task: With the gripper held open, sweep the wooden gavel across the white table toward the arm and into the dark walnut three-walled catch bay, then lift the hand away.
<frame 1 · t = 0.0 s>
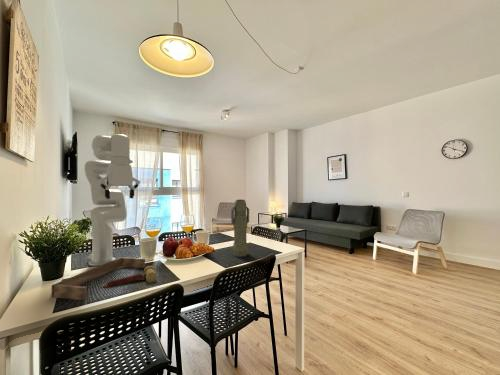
hand: (120, 198, 100), 37 cm above the table, tool pointing down, fingers open, 9 cm apart
gavel: (130, 283, 97), on the table
tall olive-grey vase: (240, 255, 138), on the table
catch bay: (107, 279, 99), on the table
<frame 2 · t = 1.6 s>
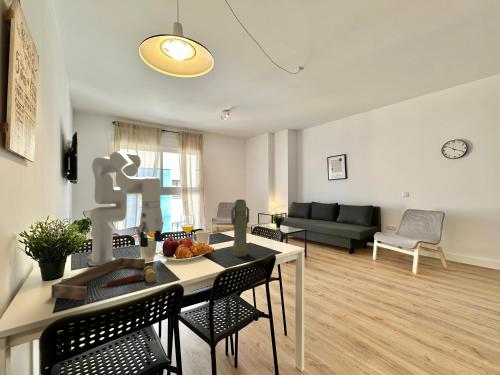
hand: (151, 243, 96), 17 cm above the table, tool pointing down, fingers open, 9 cm apart
nothing on the table moved.
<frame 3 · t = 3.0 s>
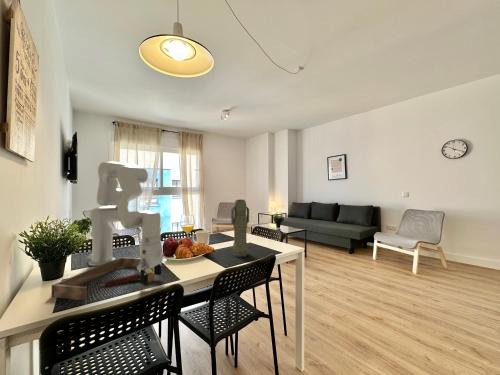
hand: (151, 278, 96), 2 cm above the table, tool pointing down, fingers open, 9 cm apart
nothing on the table moved.
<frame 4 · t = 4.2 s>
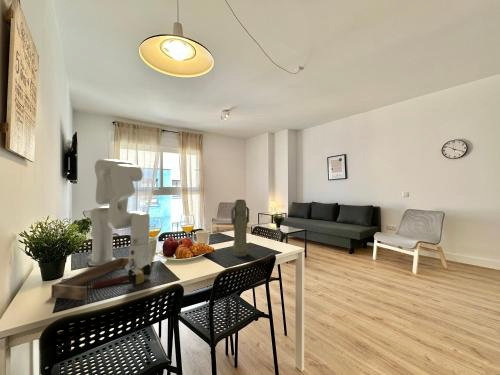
hand: (140, 278, 97), 2 cm above the table, tool pointing down, fingers open, 9 cm apart
gavel: (117, 284, 96), on the table
everything else where it was.
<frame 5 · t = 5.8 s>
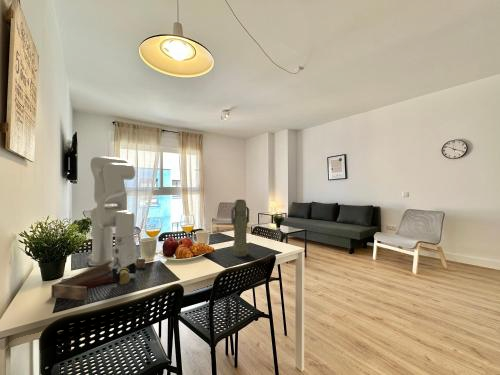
hand: (124, 277, 98), 2 cm above the table, tool pointing down, fingers open, 9 cm apart
gavel: (102, 285, 95), on the table
everything else where it was.
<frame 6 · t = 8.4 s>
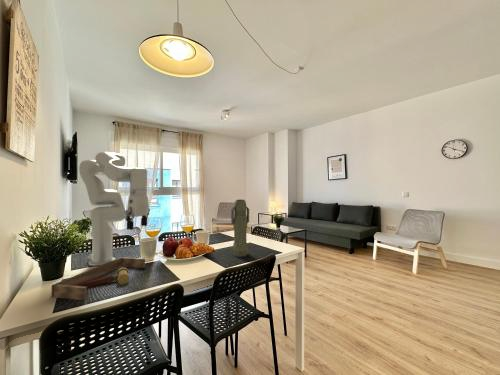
hand: (137, 227, 107), 23 cm above the table, tool pointing down, fingers open, 9 cm apart
nothing on the table moved.
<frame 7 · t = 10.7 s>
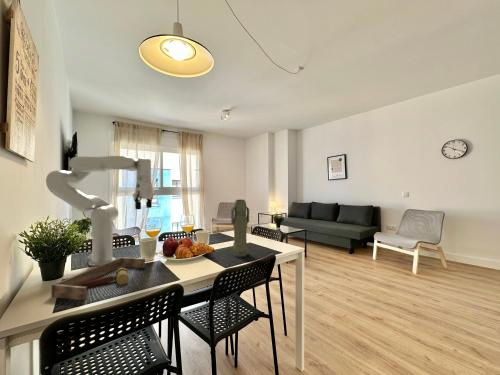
hand: (143, 208, 128), 30 cm above the table, tool pointing down, fingers open, 9 cm apart
nothing on the table moved.
at the end: gavel inside the target area on the catch bay (4.9 cm from its centre), point -0.7 cm above the catch bay's base; gavel moved 12.0 cm from its start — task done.
